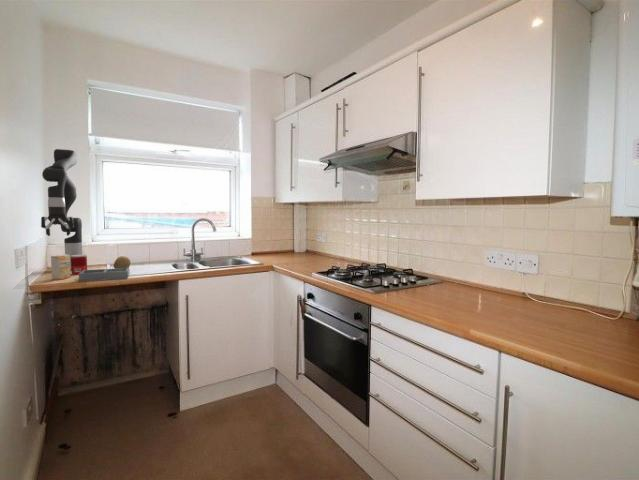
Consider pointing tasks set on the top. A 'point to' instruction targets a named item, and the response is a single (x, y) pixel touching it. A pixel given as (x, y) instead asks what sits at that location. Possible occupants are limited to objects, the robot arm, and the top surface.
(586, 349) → the top surface
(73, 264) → the canned food
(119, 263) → the natural sponge
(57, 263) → the supplement box
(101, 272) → the organiser tray
